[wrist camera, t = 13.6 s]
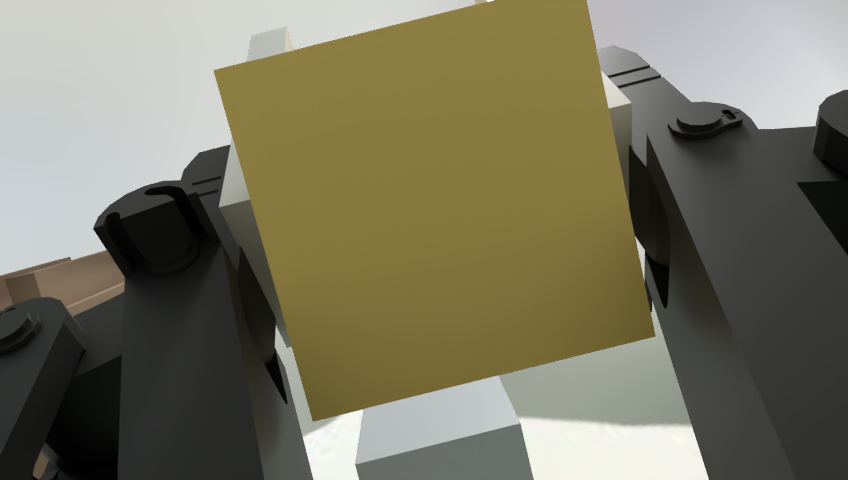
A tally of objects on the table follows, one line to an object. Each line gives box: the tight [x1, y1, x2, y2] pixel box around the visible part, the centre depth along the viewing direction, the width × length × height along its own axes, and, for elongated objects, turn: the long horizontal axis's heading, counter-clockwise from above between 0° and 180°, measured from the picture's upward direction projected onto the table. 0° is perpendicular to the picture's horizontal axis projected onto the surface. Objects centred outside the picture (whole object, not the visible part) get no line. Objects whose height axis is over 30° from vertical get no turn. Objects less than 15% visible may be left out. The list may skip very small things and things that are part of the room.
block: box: [214, 0, 655, 421], centre depth 20 cm, size 4×26×4 cm, turn 1°
